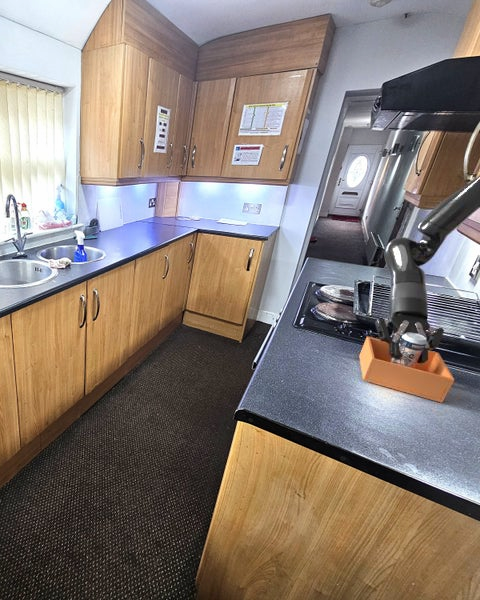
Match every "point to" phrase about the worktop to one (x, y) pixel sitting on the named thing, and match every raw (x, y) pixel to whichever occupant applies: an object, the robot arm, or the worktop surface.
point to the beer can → (410, 349)
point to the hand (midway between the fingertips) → (408, 359)
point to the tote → (405, 372)
